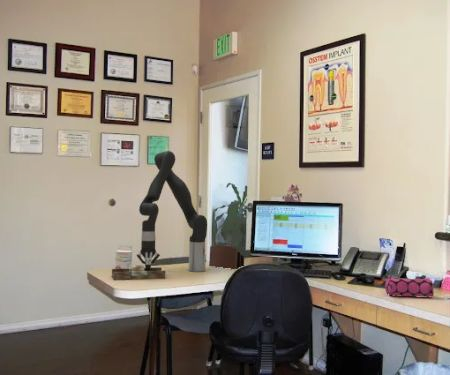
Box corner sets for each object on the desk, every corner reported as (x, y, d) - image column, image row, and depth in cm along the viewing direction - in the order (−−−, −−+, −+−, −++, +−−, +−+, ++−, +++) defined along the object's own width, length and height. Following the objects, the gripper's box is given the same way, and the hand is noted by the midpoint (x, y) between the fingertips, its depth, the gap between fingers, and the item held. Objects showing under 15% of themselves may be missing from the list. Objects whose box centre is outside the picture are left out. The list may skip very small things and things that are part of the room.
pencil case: (389, 298, 230) (390, 277, 230) (383, 294, 239) (384, 273, 239) (435, 299, 229) (436, 278, 229) (427, 295, 239) (428, 274, 239)
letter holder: (236, 270, 297) (236, 247, 297) (208, 266, 307) (209, 244, 307) (244, 268, 305) (244, 245, 305) (217, 264, 316) (217, 243, 316)
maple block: (142, 272, 269) (143, 264, 269) (144, 274, 264) (144, 266, 264) (131, 272, 268) (132, 265, 268) (132, 274, 262) (133, 266, 262)
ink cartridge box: (114, 271, 281) (115, 245, 281) (117, 270, 286) (118, 244, 286) (129, 272, 280) (130, 246, 280) (131, 270, 285) (132, 245, 285)
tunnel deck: (160, 274, 275) (161, 267, 275) (165, 278, 264) (165, 271, 264) (111, 276, 267) (112, 268, 267) (114, 280, 255) (114, 272, 255)
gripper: (159, 238, 272) (158, 269, 272) (135, 239, 268) (134, 270, 268) (161, 240, 265) (161, 272, 265) (137, 240, 261) (136, 273, 261)
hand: (147, 271), depth 267 cm, fingers closed
